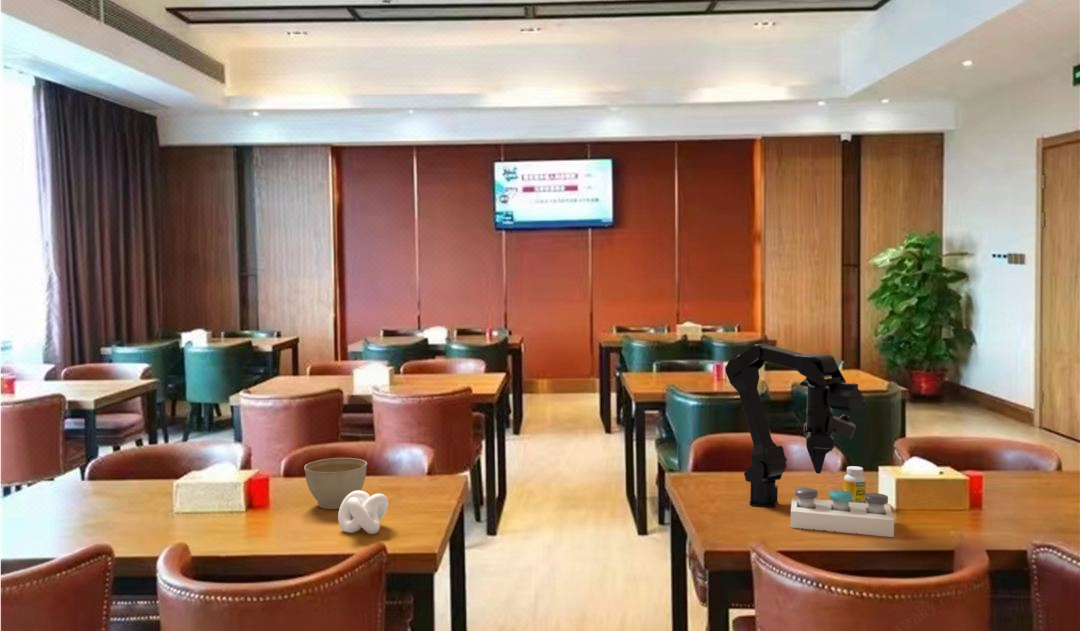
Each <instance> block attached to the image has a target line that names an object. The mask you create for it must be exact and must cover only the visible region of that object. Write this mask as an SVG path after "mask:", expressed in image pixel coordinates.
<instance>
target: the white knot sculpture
mask: <svg viewBox="0 0 1080 631" xmlns="http://www.w3.org/2000/svg"><path fill="white" fill-rule="evenodd" d="M388 508H389V499H388V497H387V496H386V495H385V494H383V493H375V494H372V495H371V496H370V494H369V493H367V492H366V491H364V490H361V491H360V490H358V491H353V492H351V493H350V494H348V495H347V496H346V497H345V499H344V500H343V502H342V504H341V506H340V508H339V510H338V512H337V514H338V517H337V519H338V524H339V527H340V529H341V530H342V531H343V532H345V533H347V534H354V533H357V532H358V531H360V530H361V528H362V529H363V530H364V531H365V532H366V533H367V534H370V535H375V534H377V533H378V532H379V531H380V527H381V522H380V521H381V520H382V519H383V517H384V516H385V515H386V512H387V511H388Z"/></svg>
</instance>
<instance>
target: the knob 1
mask: <svg viewBox="0 0 1080 631" xmlns="http://www.w3.org/2000/svg"><path fill="white" fill-rule="evenodd" d="M818 492H819V491H818V490H817V489H815V488H811V487H797V488H795V496H796V497H797V498H799V507H801V508H813V509H814V499H817V498H818V495H819V494H818Z"/></svg>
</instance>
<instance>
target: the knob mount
mask: <svg viewBox="0 0 1080 631" xmlns="http://www.w3.org/2000/svg"><path fill="white" fill-rule="evenodd" d="M790 506H791V507H790V528H791V529H802V528H803V529H804V530H813V529H815V531H823V530H826V532H834V531H836V533H844V534H845V533H847V534H856V533H857V534H859V535H867V536H876V537H877V536H879V537H891V538H893V537H894V534H895V533H894V532H895V531H894V530H895V519H894V515H893V512H892V509H891V506H890V505H889V504H884V515H883V514H871V513H868V502H865V503H855V502H849V511H836V510H833V500H832V499H830V500H828V499H817V498H814V509H813V508H801V507H799V497H795V496H794V497H793V496H792V497H791V504H790ZM803 529H802V530H803Z"/></svg>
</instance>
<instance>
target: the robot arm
mask: <svg viewBox="0 0 1080 631" xmlns="http://www.w3.org/2000/svg"><path fill="white" fill-rule="evenodd" d="M836 361H837V360H835V357H834V356H833V355H830V354H821V353H814V354H813V353H801V352H798V351H793V350H789V349H786V348H780V347H777V346H773V345H770V344H768V343H758V344H754V345H752V346H750V348H749V349H748V350H746V351H744V352H743V353H741V354H738V355H737V356H736V357H735V358H733V359H730V360H728V362H727V363H726V366H725V368H724V369H725V374H726V376H727V379H728V381H729V383H730V386H732V388H734V390H735V391H737V394H738V395H739V398H740V402H741V405H742V409H743V412H744V416H745V420H746V423H747V427H748V430H749V434H750V437H751V440H752V446H753V447H752V450H751V454H750V455H751V456H750V457H751V466H750V467H749V468H747V470H746V471H744V474H743V475H744V479H745V481H746V482H749V483H750V490H749V491H750V492H749V493H750V494H749V497H750V500H749V506H756V507H768V508H775V507H776V504H778V501H779V498H778V497H779V492H778V491H779V486H778V485H777V482H776V481H777V480H778V481H780V480H781V479H782V476H783V473H785V470H786V469H787V461H788V459H787V457H786V455H785V450H784V447H783V446H782V445H777V444H776V443H775V442H774V441H773V438H772V435H771V432H770V429H769V425H768V423H767V422H768V421H767V419H766V415H765V411H764V408H763V405H762V404H763V403H762V401H761V398H760V394H759V391H758V385H759V381H760V373H759V370H761V368H763V367H764V366H765V364H766V362H767V363H772V364H774V365H778V366H783V367H784V368H785V367H786V368H788V369H789V368H790V369H792V370H795V371H797V372H798V373H799V374H800V375H802V376H804V377H805V379H804V380H802V381H801V382H799V385H800V387H807V390H806V391H807V393H806V394H807V395H806V399H807V400H806V411H805V412H806V422H804V424H803V433H804V434H803V435H804V438H805V447H806V449H807V452H808V455H809V458H810V461H811V463H812V465H813V469H814V471H815V473H816V474H822V470H823V466H824V462H825V458H826V455H827V454H828V453H829V452H832V451H833V450H834V449H835V439H834V437H833V436H832V435H833V434H834V433H837V434H839V435H841V436H844V437H845V438H846V439H849V440H851V439H852V438H853V435H854V433H855V432H856V429H857V426H856V424H855V423H853V421H850V416H849V415H846V414H844V413H843V414H841V415H840V416H836V415H834V413H833V410H837V411H844V412H848V413H852V414H853V413H855V414H856V413H858V412H859V411H860V410H861V409H862V406H863V404H864V396H863V393H862V392H861V390H860V389H859V384H858V383H855V382H854V383H853V382H852V383H848V382H847V381H846V379H845V377H844V376H843V374H842V372H841V369H839V367H838V364H837V362H836ZM832 409H833V410H832Z"/></svg>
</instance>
